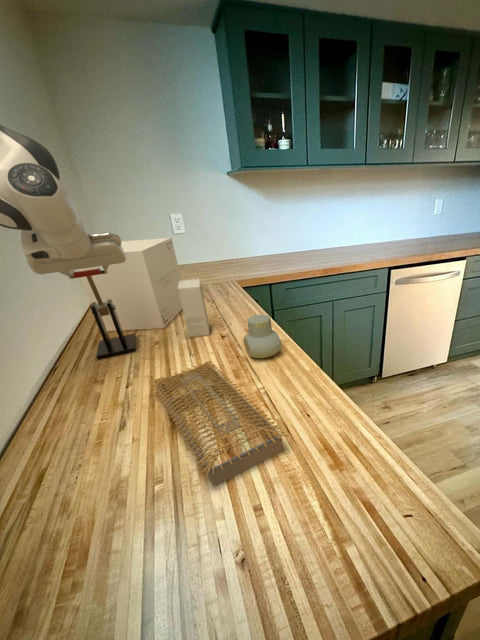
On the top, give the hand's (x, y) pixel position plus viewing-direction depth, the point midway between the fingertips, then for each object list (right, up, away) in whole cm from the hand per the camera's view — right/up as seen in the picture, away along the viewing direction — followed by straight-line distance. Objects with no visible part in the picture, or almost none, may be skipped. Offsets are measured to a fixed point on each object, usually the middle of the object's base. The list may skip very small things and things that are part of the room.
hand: (88, 274), depth 88 cm
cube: (0, -5, +35) cm, 36 cm away
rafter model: (+38, -35, -21) cm, 56 cm away
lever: (+1, -5, +2) cm, 6 cm away
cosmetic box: (+23, -13, +19) cm, 33 cm away
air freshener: (+45, -21, +3) cm, 50 cm away
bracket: (+1, -18, +12) cm, 22 cm away
